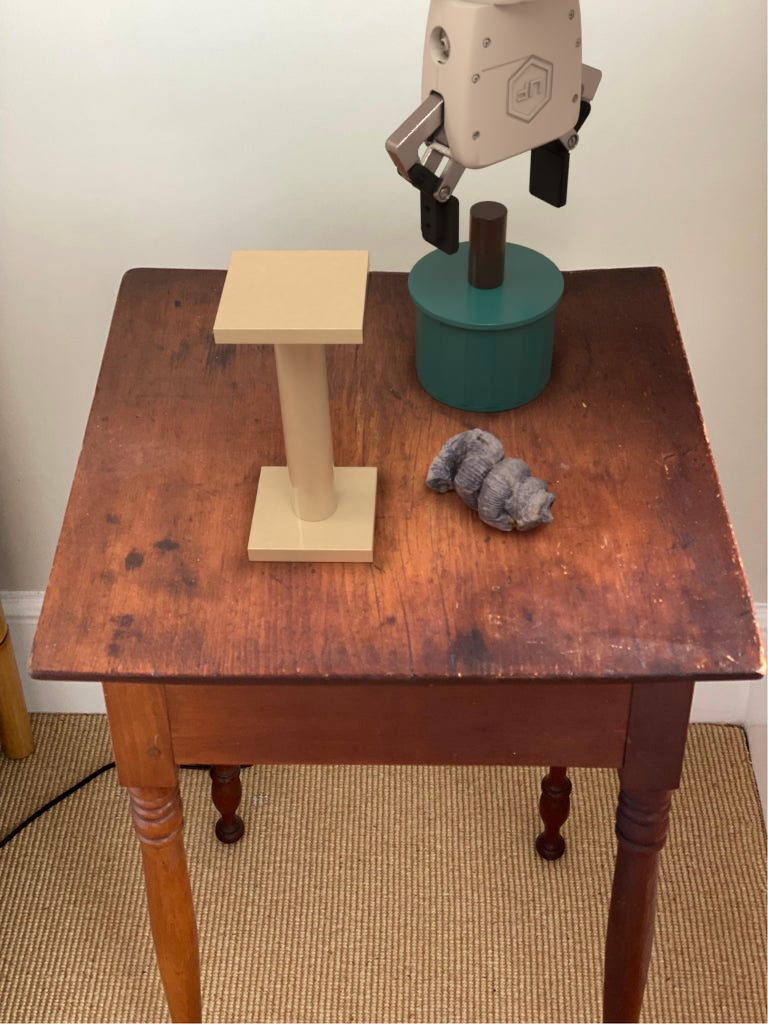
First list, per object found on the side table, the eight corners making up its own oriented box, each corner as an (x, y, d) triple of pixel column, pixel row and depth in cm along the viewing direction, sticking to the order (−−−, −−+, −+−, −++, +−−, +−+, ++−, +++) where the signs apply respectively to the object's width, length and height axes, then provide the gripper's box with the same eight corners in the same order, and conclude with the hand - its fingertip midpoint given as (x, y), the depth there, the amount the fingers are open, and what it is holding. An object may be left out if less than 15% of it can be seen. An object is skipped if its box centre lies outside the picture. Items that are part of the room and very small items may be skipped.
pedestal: (378, 479, 78) (369, 249, 66) (372, 563, 73) (362, 328, 60) (262, 478, 79) (232, 250, 66) (248, 561, 73) (212, 328, 60)
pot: (577, 376, 86) (587, 292, 81) (475, 430, 82) (478, 345, 77) (489, 317, 92) (493, 235, 87) (390, 364, 88) (387, 281, 83)
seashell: (432, 489, 79) (545, 562, 74) (400, 467, 75) (518, 544, 70) (474, 425, 79) (589, 494, 74) (444, 399, 74) (566, 471, 70)
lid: (595, 299, 81) (605, 215, 77) (476, 357, 77) (479, 271, 72) (492, 237, 88) (496, 156, 83) (377, 287, 83) (374, 204, 79)
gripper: (427, 10, 60) (430, 288, 72) (653, -61, 68) (624, 202, 79) (345, -24, 65) (361, 243, 76) (566, -87, 72) (550, 166, 84)
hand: (495, 222), depth 78 cm, fingers open, 9 cm apart
